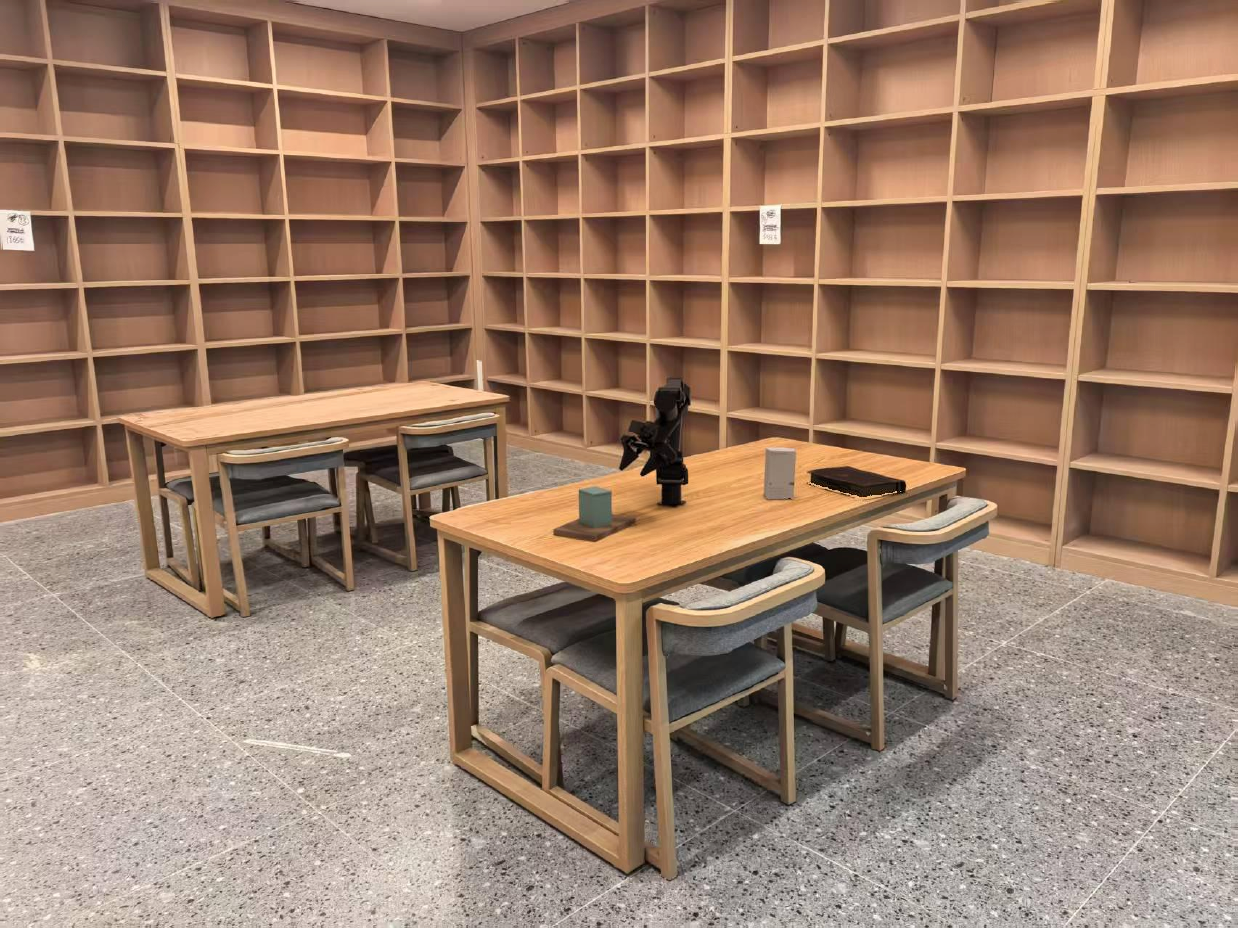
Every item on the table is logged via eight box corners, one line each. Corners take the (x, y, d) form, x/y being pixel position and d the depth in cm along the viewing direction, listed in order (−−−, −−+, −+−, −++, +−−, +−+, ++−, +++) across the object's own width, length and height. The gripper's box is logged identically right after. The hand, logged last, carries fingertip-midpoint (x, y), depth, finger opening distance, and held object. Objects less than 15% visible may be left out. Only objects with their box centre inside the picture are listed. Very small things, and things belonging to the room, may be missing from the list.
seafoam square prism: (596, 518, 249) (595, 486, 247) (611, 524, 243) (611, 491, 241) (579, 522, 245) (578, 489, 244) (594, 528, 240) (594, 494, 238)
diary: (848, 479, 302) (849, 464, 301) (906, 495, 281) (907, 479, 280) (803, 485, 293) (804, 470, 292) (859, 502, 272) (860, 485, 271)
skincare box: (766, 500, 273) (768, 450, 270) (763, 495, 279) (764, 446, 276) (795, 499, 274) (796, 450, 271) (790, 494, 280) (792, 446, 277)
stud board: (595, 517, 256) (595, 498, 255) (636, 523, 250) (635, 504, 249) (553, 534, 240) (553, 515, 238) (595, 541, 233) (595, 521, 232)
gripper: (624, 405, 255) (592, 449, 251) (668, 413, 241) (634, 460, 237) (647, 430, 262) (616, 473, 257) (690, 439, 247) (658, 485, 243)
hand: (630, 472), depth 248 cm, fingers open, 9 cm apart
